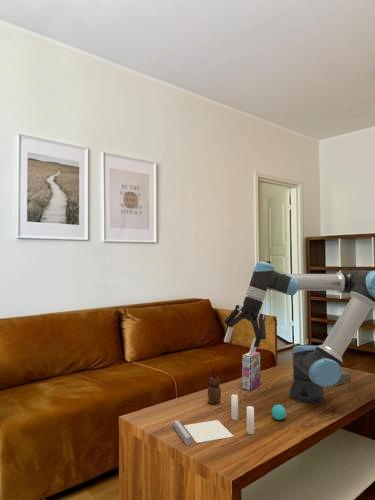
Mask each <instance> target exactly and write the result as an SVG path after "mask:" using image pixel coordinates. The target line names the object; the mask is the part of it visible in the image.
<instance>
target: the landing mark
mask: <svg viewBox="0 0 375 500" xmlns="http://www.w3.org/2000/svg"><path fill="white" fill-rule="evenodd" d="M183 427H184V429H185V430H186V431H187V433H188V434H189V435H190V437H191V439H193V441H194V442H195V443H196V444H200V443H207V442H212V441H216V440H222V439H228V438H229V439H230V438H233V437H235V436H234V435H233V434H232V433H231V432H230V431H229V430H228V429H227V428H226V427H225V426H224V424H222V422H221V421H219V420H218V419H216V420H215V419H214V420H208V421H202V422H196V423H191V424H184V425H183Z"/></svg>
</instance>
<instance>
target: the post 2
mask: <svg viewBox="0 0 375 500" xmlns="http://www.w3.org/2000/svg"><path fill="white" fill-rule="evenodd" d="M246 434H248V435H254V434H255V407H254V406H252V405H248V406H246Z"/></svg>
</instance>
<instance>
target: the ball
mask: <svg viewBox="0 0 375 500" xmlns="http://www.w3.org/2000/svg"><path fill="white" fill-rule="evenodd" d="M271 415H272V417H273V418H275V420H278V421H281V420H283V419H284V418H286V415H287V411H286V408H285V407H284V406H283V405H282V404H275V405H273V407H272V409H271Z"/></svg>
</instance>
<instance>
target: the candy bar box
mask: <svg viewBox="0 0 375 500" xmlns="http://www.w3.org/2000/svg"><path fill="white" fill-rule="evenodd" d="M241 359H242V361H241V365H242V366H241V367H242V368H241V389H242V390H245V391H249V392H250V391H253V390H254V389H256V388H257V387H259V386H260V385H261V352H259V351H255V354H254V355H252V354H249V352H247V353H245V354H242V357H241Z"/></svg>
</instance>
